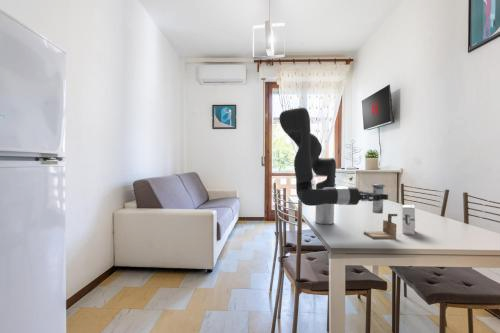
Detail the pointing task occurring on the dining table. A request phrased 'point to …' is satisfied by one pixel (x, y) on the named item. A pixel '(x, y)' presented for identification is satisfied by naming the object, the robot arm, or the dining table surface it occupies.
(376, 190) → the steel pin
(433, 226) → the dining table surface
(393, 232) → the block
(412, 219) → the ink box
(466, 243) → the dining table surface
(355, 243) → the dining table surface
